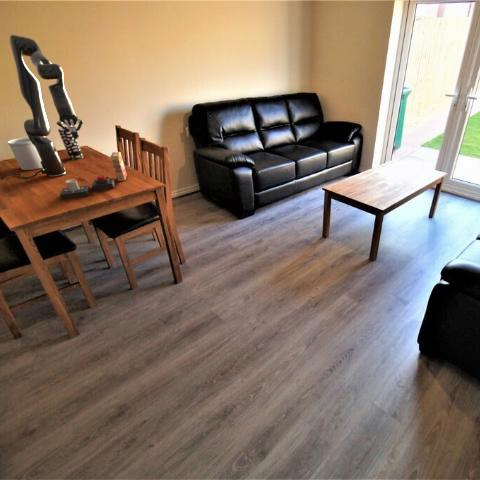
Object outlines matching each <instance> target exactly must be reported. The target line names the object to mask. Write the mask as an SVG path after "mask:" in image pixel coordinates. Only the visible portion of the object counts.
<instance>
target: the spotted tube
mask: <svg viewBox="0 0 480 480" xmlns="http://www.w3.org/2000/svg"><path fill="white" fill-rule="evenodd" d="M57 131H58V133H59V135H60V138H61V141H62V143H63V146H64V148H65V150H66V153H67V155H68V158H69V160H80V159H83V158H84V154H83V151H82V149H81V146H80V144H79V141H78V139H75V138H73V136H72V134H71V132H69V131H66V130H64V129H63V128H61V127H60V128H58V129H57Z"/></svg>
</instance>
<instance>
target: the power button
mask: <svg viewBox="0 0 480 480" xmlns="http://www.w3.org/2000/svg"><path fill="white" fill-rule="evenodd" d="M106 177H107V176H106V175H105V174H99V175H97V176H96V179H98V180H105V179H106Z"/></svg>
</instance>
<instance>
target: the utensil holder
mask: <svg viewBox="0 0 480 480" xmlns="http://www.w3.org/2000/svg"><path fill="white" fill-rule="evenodd" d="M7 145H8V146H9V147H10V150H11V152H12V154H13V155H14V158H15V160H16V162H17V164H18V165H19V167H20V169H21V170H23V171H33V170H40V169H42V168H43V167H42V165H41V158H40V156H39V154H38V152H37V150H36V148H35V146H34V145H33V144H32V143H31V141H30V139H29V137H20V138H14V139H10V140H8V141H7Z"/></svg>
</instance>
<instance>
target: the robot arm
mask: <svg viewBox="0 0 480 480" xmlns="http://www.w3.org/2000/svg"><path fill="white" fill-rule="evenodd" d="M9 45H10V49H11V53H12V56H13V60H14V65H15V68H16V72H17V78H18V85H19V90H20V93H21V94H20V95H21V96H22V98H23V99H24V101H25V102H26V104H27V105H28V107H29V109H30V110H31V115H32V118H28V119H26V120H25V121H24V123H23V128H24V131H25V133H26V135H27V138H29V139H30V141H31V143H32V144H33V145H34V146H35V148H36V150H37V152H38V154H39V156H40V158H41V165H42V167H43V168H40V170H38V171H36V172H35V174H33V175H30V176H23V174H22V173H9V174H5V175H2V176H1V178H0V180H3V179H4V178H6V177H9V176H20V178H21V179H30V178H34V177H37V176H38V174H39V173H41V174H42V175H45V176H46V177H49V178H56V177H62V176H64V175H66V174H67V171H66V168H65V167H64V164H63V162H62V160H61V157H60V154H59V152H58V151H57V149H56V145H55V143H54V141H52V140H51V139H49V138H48V136H49V135H50V134H51V125H50V121H49V118H48V115H47V111H46V106H45V101H44V96H43V91H42V84H41V82H40V80H39V79H38V78H37V76H36V75H35V74H34V73H33V72H32V71H31V69H29V67H28V65H27V64H26V62H25V60H24V58H23V56H24V57H28V58H29V57H30V61H31V63H32V64H33V66H34V67H35V68H36V72H37V74H38V76H39V77H40V78H41V79H42V80H45V81H46V80H47V81H51V80H56V82H55V83H53V84H49V85H48V90H49V93H50V96H51V97H52V98H51V99H52V101H53V105H54V107H55V109H56V112H57V114H58V116H59V120H58V121H56V125H57V126H59V127H60V129H61V128H63V129H64V130H66V131H69V132H71V134H72V136H73V138H75V139H77V140H78V139H79V138H80V135H79V132H78V131H80V130H81V128H82V126H83V124H84V122H85V121H84V120H83V119H79V117H78V116H77V114H76V111H75V109H74V106H73V104H72V101H71V99H70V97H69V96H68V92H67V89H66V85H65V76H64V69H63V68H62V67H61V66H60V65H59V64H57V63H52V61H50V60H49V59H48V58H47V57H46V56H45V55H44V53H43V51H42V49H41V48H40V46H39V44H38V43H37V42H36V40H35V39H33V38H30V37H26V36H20V35H18V34H10V36H9ZM77 123H78V125H77Z"/></svg>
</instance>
